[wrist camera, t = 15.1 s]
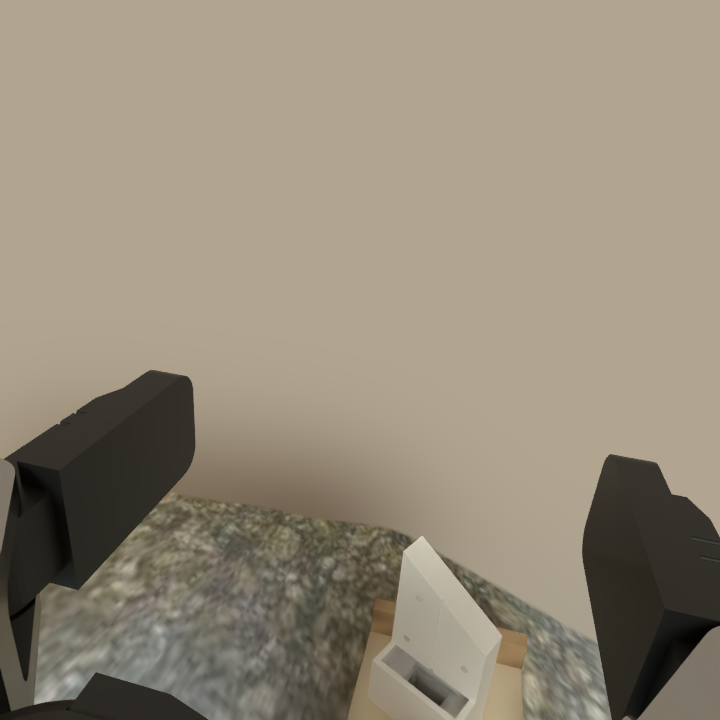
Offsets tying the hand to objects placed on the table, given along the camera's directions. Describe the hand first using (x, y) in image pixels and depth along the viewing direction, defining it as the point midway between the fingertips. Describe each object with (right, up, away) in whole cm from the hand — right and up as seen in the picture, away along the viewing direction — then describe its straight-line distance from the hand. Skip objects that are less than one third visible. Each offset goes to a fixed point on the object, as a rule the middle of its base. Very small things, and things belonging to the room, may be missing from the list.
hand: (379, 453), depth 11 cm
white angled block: (+3, -19, +23) cm, 30 cm away
